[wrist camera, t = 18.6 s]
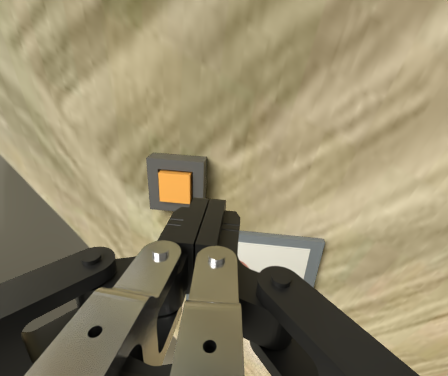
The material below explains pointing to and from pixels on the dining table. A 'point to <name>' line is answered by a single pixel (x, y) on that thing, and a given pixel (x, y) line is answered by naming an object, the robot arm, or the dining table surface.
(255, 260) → the drawing board
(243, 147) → the dining table surface
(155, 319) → the robot arm
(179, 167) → the button housing
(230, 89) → the dining table surface
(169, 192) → the button
